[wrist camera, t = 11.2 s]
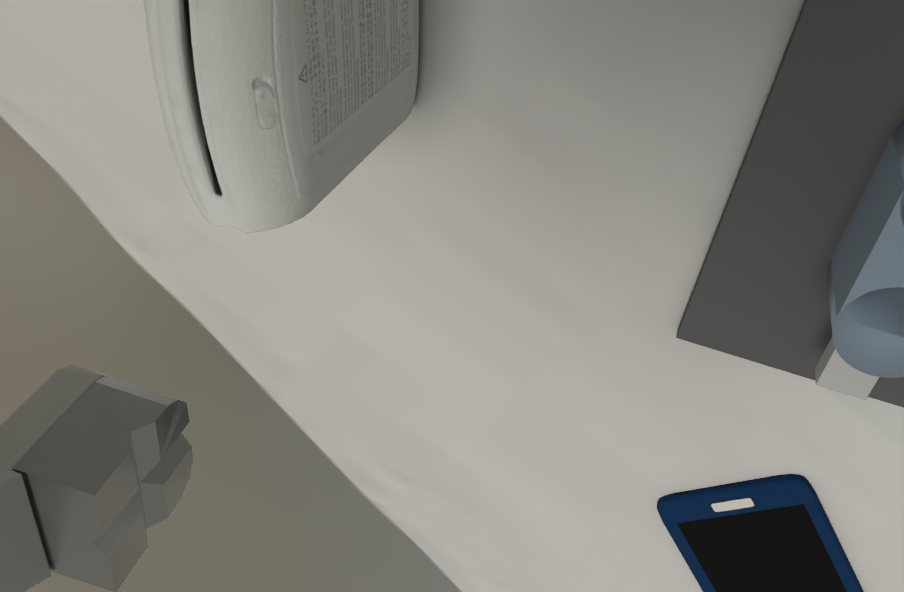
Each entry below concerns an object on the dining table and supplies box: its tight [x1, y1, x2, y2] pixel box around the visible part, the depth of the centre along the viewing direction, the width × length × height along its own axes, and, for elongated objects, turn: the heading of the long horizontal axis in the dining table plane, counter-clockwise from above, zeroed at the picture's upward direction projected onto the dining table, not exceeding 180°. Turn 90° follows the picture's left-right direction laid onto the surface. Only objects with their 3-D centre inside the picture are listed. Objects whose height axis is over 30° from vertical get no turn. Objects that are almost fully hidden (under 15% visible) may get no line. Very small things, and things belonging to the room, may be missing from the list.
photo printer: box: [144, 0, 419, 233], centre depth 27 cm, size 10×4×12 cm, turn 179°
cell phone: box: [657, 474, 863, 592], centre depth 41 cm, size 7×14×1 cm, turn 31°
